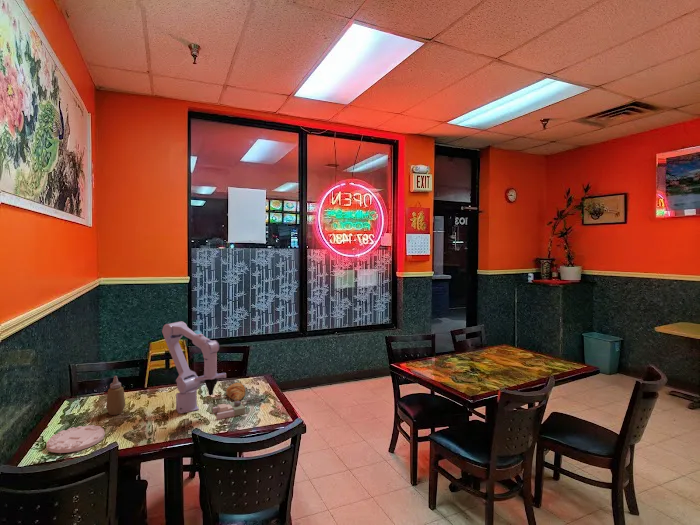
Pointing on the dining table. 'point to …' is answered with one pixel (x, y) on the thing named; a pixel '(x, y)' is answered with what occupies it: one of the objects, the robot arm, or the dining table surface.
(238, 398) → the croissant
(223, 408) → the pink stepped block
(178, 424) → the dining table surface
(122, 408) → the squeeze bottle
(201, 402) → the dining table surface
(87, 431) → the embossed medallion
